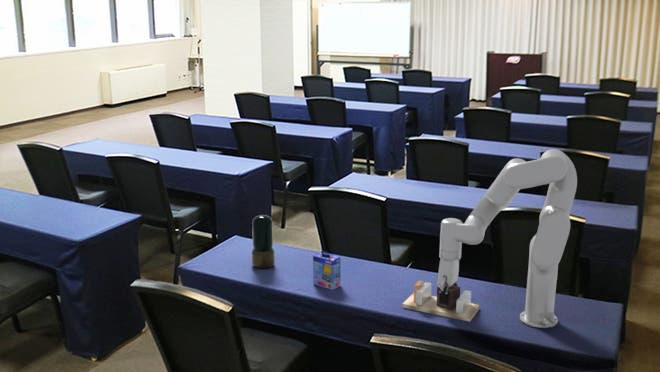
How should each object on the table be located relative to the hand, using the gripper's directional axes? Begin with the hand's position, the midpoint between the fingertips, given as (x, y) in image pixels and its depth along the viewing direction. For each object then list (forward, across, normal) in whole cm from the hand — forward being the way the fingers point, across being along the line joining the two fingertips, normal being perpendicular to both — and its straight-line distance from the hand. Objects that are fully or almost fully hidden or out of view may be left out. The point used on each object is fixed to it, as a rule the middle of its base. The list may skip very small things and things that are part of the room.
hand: (447, 298), depth 241 cm
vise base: (+4, 0, -2) cm, 5 cm away
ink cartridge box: (+5, 0, -49) cm, 49 cm away
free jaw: (+2, 0, -10) cm, 10 cm away
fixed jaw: (+3, 0, +6) cm, 6 cm away
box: (+3, 0, 0) cm, 3 cm away
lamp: (+4, -6, -82) cm, 83 cm away
